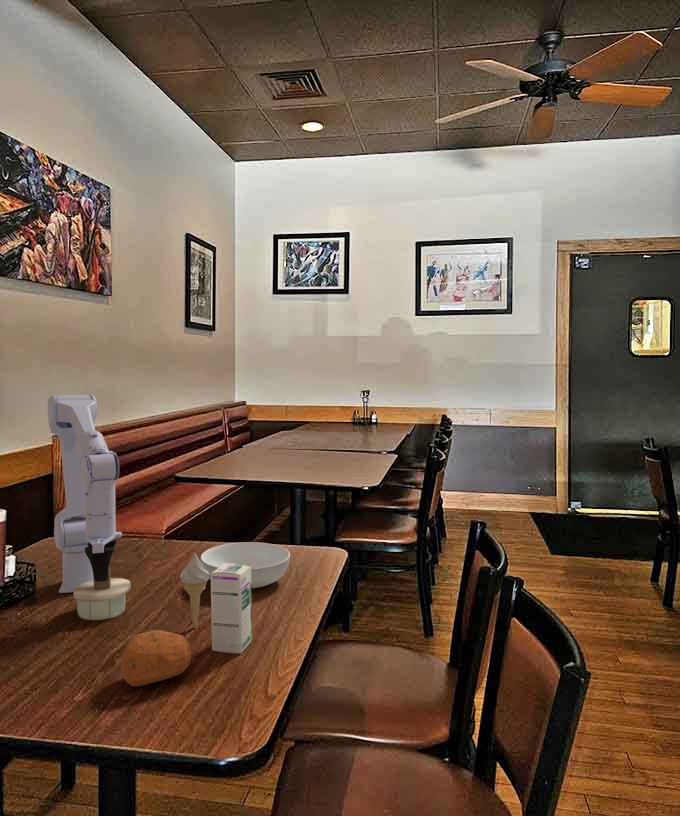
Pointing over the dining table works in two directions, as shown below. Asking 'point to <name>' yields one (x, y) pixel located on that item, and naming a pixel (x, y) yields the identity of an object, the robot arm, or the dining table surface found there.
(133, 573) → the dining table surface
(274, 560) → the serving bowl
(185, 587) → the ice cream cone
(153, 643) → the potato
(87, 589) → the lid
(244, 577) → the syrup box
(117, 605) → the bowl
